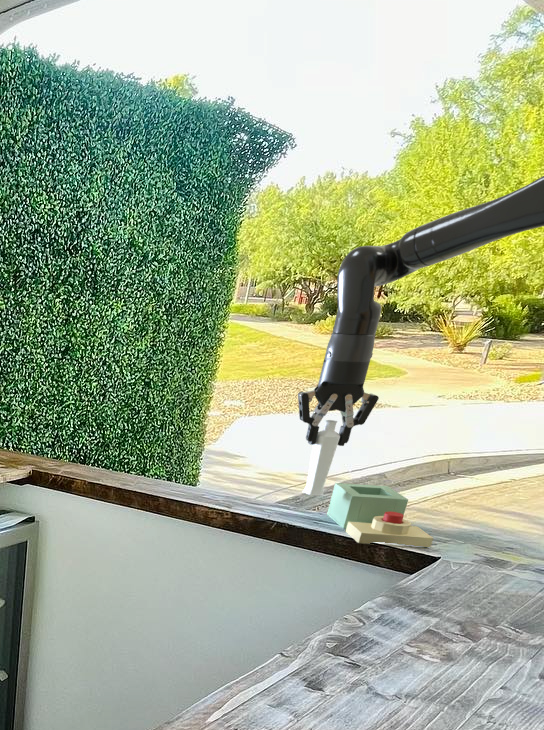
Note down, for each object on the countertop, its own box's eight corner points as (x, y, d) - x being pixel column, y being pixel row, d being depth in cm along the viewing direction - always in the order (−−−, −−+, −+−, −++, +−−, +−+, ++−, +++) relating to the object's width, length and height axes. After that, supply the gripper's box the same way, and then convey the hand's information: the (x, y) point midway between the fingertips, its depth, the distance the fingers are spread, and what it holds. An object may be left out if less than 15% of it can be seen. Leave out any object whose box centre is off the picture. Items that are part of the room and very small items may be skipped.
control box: (413, 536, 150) (419, 517, 149) (430, 549, 144) (436, 529, 142) (345, 531, 153) (350, 512, 151) (358, 543, 147) (363, 523, 145)
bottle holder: (378, 518, 161) (388, 486, 158) (398, 533, 152) (408, 499, 149) (326, 514, 163) (335, 482, 160) (343, 529, 154) (352, 496, 152)
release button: (397, 520, 148) (400, 512, 147) (403, 525, 145) (406, 516, 145) (379, 519, 149) (382, 510, 148) (386, 524, 146) (388, 515, 145)
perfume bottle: (300, 488, 161) (317, 418, 156) (324, 491, 159) (343, 420, 154) (300, 494, 158) (317, 421, 152) (325, 497, 156) (343, 424, 150)
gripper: (381, 356, 150) (358, 442, 156) (300, 354, 153) (281, 438, 160) (397, 361, 143) (372, 450, 150) (312, 358, 146) (291, 446, 153)
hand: (325, 444), depth 155 cm, fingers closed on perfume bottle, 4 cm apart
